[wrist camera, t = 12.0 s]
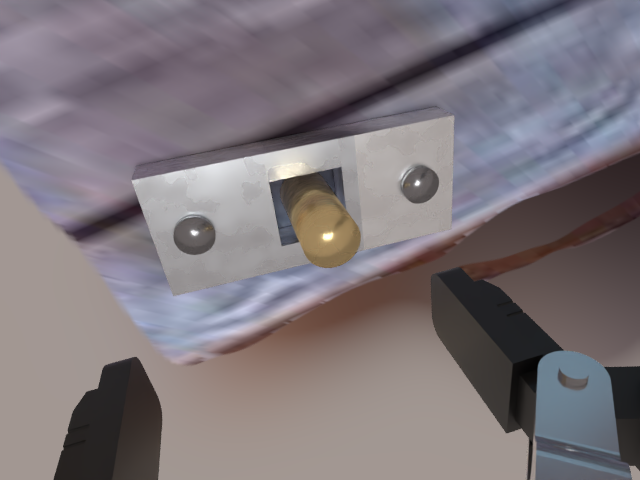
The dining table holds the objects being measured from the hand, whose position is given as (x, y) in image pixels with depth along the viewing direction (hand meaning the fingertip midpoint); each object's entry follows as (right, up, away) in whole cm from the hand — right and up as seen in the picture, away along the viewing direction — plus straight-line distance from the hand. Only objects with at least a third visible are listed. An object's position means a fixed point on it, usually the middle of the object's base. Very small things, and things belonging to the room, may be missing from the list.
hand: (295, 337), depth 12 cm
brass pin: (-1, +7, +26) cm, 27 cm away
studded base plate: (-1, +7, +26) cm, 27 cm away
